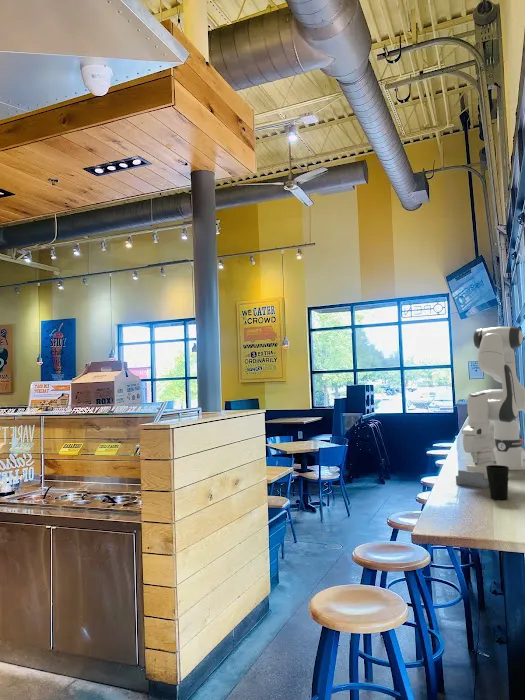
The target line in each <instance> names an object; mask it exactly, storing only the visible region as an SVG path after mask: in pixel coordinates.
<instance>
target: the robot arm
mask: <svg viewBox="0 0 525 700" xmlns="http://www.w3.org/2000/svg"><path fill="white" fill-rule="evenodd" d="M472 337H473V339H472V340H473V344H474V347H476V348H477V349H478V353H477V355H478V356H477V366H478V369H480V371H482V372H483V373H484V374H487V375H488V376H491V377H492V379H493V380H494V381H496V382H498V383H500V384H501V387H502V388H501V389H499V388H497V389H485V390H481V391H475V392H471V393H469V394H468V397H467V404H466V405H467V406H466V407H467V408H466V409H467V411H466V412H467V415H468V419H467V420H468V421H467V425H466V426H465V427H464V428H462V430H461V432H462V435H463V437H462V441H463V442H462V443H463V450H464V452H465V453H468V454H470V455H471V458H472V462H473V463H474V464H475V463H477V462H479V458H477V452H480V451H482V449H485V448H488V447H492V448H493V451H494V455H495V459H496V463H497V465H501V466H507V467H509V471H510V470H511V471H516V470H517V471H519V470H520V471H521V470H522V471H523V470H525V449H524V448H523V447H522V446H523V443H524V439H522V438H520V428H519V427H520V426H519V424H518V422H517V421H516V420H515V419H517V417H518V415H519V412H522V411H525V386H523V384H521V383H520V380H519V379H518V375H517V369H516V368H517V365H516V355H515V351H516V350H517V349H518V348H519V347H521V346H522V343H523V342H524V341H523V340H524V335H523V332H522V329H520V327H518V326H496V327H495V326H494V327H486V328H484V327H482V328H477V329H476V330H475V331H474V333H473V336H472ZM491 422H492V425H493V430H494V432H493V430H492V429H491Z"/></svg>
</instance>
